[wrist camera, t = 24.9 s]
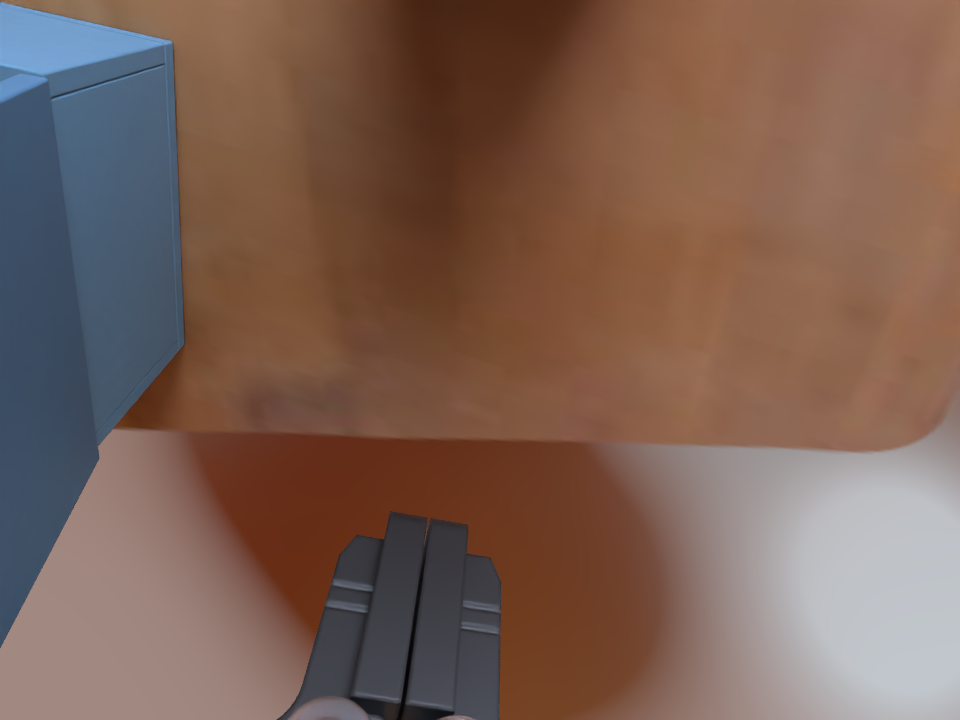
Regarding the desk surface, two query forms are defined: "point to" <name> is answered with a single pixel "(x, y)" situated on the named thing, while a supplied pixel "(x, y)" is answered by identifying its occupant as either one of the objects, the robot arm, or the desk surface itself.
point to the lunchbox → (112, 191)
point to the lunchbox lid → (36, 348)
